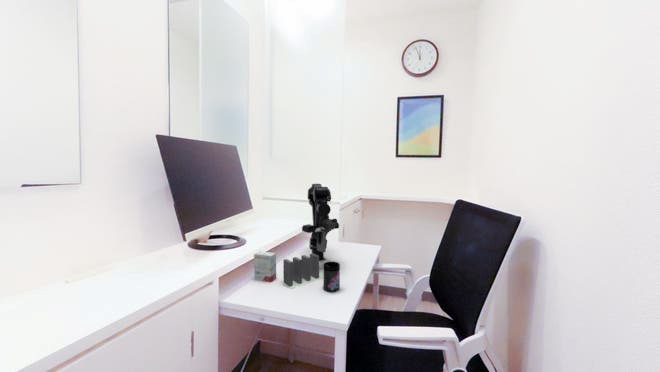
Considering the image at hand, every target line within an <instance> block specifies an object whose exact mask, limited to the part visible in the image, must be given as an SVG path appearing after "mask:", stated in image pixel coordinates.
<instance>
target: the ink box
mask: <svg viewBox="0 0 660 372" xmlns="http://www.w3.org/2000/svg"><path fill="white" fill-rule="evenodd" d="M253 262H254V263H253V264H254V266H253V267H254V268H253V269H254V271H253V272H254V273H253V275H254V280H256V281H261V282H269V283H273V282H274V281H275V280H277V253H276V252H270V251H269V252H268V251H267V252H266V251H261V250H260V251H258V252H255V253H254V254H253Z"/></svg>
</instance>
